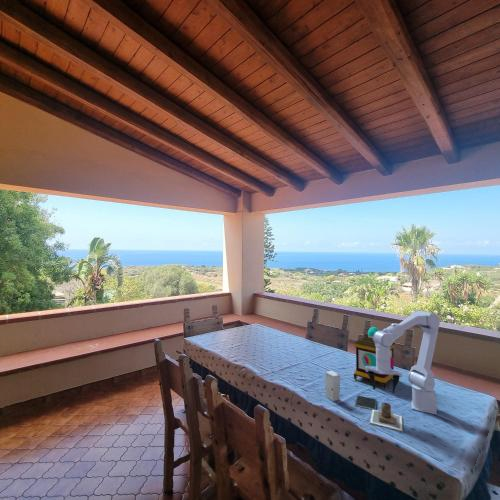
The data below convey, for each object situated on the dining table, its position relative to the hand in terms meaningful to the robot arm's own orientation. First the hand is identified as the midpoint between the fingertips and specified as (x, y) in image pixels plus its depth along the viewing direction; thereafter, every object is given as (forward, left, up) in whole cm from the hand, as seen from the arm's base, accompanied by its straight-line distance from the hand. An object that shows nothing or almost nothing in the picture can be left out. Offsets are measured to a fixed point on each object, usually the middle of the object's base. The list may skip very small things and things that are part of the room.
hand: (383, 390), depth 123 cm
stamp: (-1, +5, -10) cm, 11 cm away
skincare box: (+23, -4, -11) cm, 26 cm away
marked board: (-1, +5, -10) cm, 11 cm away
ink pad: (+8, -6, -10) cm, 14 cm away
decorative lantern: (+6, -37, -11) cm, 39 cm away
